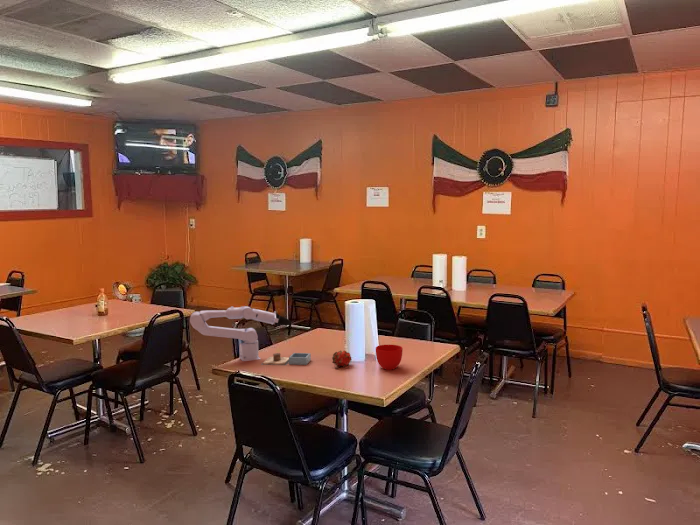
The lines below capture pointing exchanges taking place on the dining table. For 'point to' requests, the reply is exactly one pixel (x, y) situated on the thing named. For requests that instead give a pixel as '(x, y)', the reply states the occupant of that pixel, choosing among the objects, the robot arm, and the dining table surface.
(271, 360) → the lid
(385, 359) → the ceramic cup
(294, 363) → the dish
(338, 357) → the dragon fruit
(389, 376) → the dining table surface
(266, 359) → the mat
